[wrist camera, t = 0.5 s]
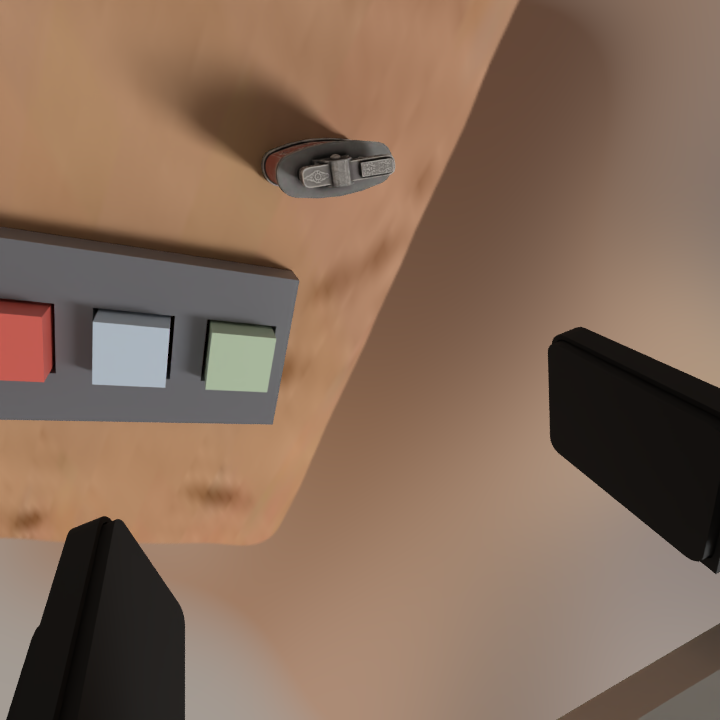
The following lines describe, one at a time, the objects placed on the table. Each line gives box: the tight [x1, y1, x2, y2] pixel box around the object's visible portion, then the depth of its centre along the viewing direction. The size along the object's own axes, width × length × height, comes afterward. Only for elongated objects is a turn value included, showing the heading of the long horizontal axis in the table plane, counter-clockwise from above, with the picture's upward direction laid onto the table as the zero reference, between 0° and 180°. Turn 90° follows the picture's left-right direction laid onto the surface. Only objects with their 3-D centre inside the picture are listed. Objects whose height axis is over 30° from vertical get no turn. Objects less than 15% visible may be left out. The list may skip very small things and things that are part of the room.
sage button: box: [204, 320, 276, 392], centre depth 38 cm, size 5×5×3 cm
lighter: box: [261, 138, 395, 198], centre depth 33 cm, size 8×3×10 cm, turn 97°
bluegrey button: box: [92, 308, 171, 388], centre depth 35 cm, size 5×5×3 cm
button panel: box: [0, 227, 299, 424], centre depth 37 cm, size 14×24×3 cm, turn 76°
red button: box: [0, 298, 56, 382], centre depth 32 cm, size 5×5×3 cm
